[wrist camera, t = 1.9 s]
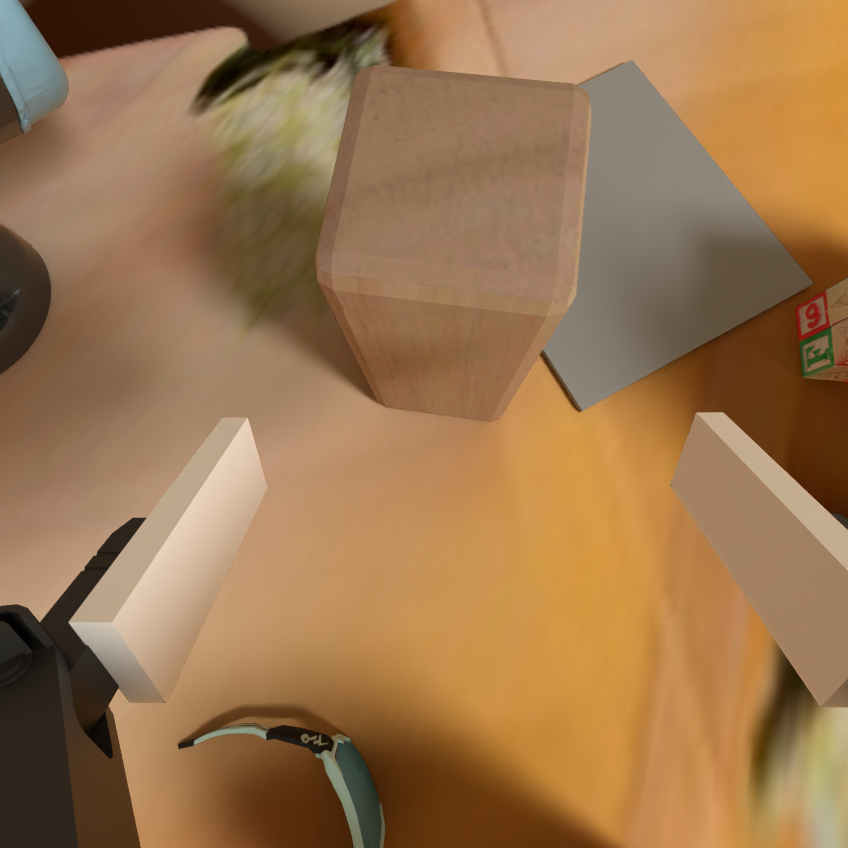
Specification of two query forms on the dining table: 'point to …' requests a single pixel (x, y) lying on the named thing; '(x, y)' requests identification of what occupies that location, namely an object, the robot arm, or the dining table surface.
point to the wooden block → (454, 232)
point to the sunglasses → (330, 775)
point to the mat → (658, 247)
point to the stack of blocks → (825, 334)
